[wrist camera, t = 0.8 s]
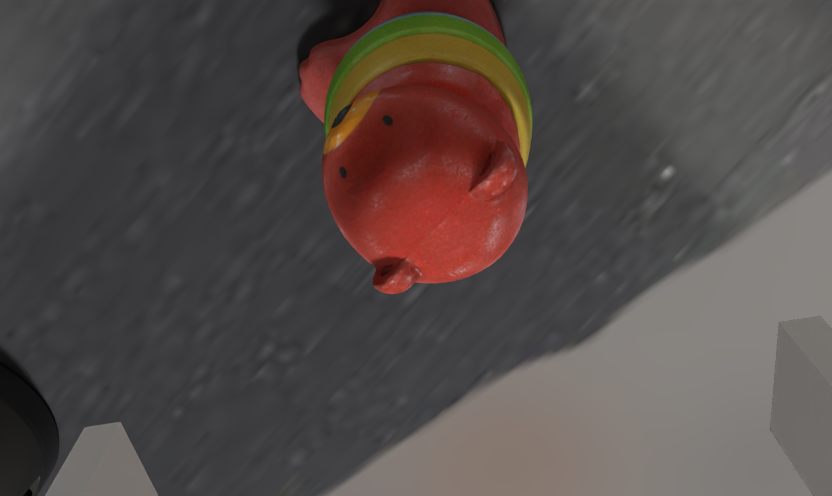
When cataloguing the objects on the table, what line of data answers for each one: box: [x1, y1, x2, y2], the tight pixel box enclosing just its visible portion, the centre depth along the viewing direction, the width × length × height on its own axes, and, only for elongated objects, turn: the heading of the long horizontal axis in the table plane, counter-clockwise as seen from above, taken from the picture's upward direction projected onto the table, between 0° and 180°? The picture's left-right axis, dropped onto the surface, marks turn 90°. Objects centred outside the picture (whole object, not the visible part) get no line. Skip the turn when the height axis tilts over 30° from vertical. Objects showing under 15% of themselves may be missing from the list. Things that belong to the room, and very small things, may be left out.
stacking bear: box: [299, 0, 532, 294], centre depth 29 cm, size 11×10×18 cm
